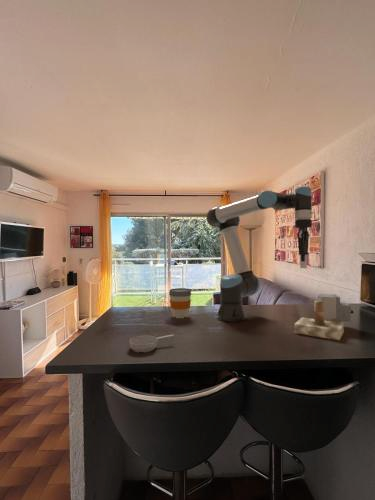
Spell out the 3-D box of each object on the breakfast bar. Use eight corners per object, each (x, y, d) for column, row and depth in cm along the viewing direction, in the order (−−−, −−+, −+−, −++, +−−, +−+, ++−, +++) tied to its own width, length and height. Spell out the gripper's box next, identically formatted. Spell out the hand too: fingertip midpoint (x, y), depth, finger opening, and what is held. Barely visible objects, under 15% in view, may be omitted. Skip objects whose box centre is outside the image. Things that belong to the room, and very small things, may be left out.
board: (294, 332, 126) (294, 323, 126) (302, 325, 137) (302, 317, 137) (339, 340, 115) (339, 330, 115) (343, 331, 127) (343, 322, 126)
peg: (313, 332, 126) (313, 301, 125) (315, 330, 129) (315, 300, 129) (323, 334, 123) (323, 302, 123) (325, 331, 127) (324, 301, 126)
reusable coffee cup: (195, 315, 160) (195, 289, 160) (183, 320, 150) (183, 292, 149) (177, 312, 167) (177, 287, 167) (164, 317, 156) (164, 290, 156)
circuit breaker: (354, 330, 129) (354, 297, 129) (321, 328, 132) (321, 296, 132) (349, 325, 136) (349, 294, 136) (317, 323, 140) (317, 294, 139)
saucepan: (127, 346, 112) (126, 336, 112) (169, 339, 119) (169, 330, 119) (132, 356, 102) (132, 345, 102) (178, 348, 109) (178, 338, 109)
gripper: (308, 217, 127) (308, 269, 128) (314, 219, 138) (314, 267, 138) (291, 219, 132) (291, 268, 132) (298, 220, 142) (299, 266, 143)
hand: (303, 268), depth 135 cm, fingers closed
